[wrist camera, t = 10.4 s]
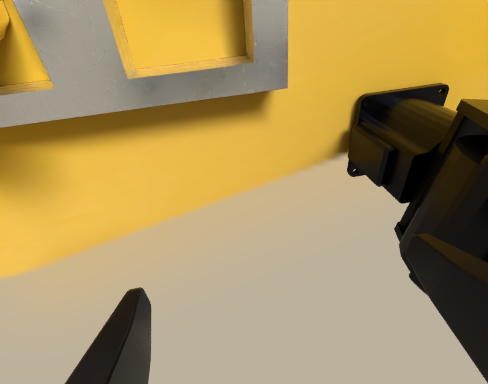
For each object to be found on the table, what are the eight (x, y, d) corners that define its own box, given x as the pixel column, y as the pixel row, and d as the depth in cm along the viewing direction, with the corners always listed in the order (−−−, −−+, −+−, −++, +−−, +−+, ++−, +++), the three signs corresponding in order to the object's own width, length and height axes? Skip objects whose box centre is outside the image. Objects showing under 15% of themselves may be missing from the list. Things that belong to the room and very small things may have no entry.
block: (271, -156, 12) (289, -190, 10) (275, 78, 17) (287, 88, 15) (-261, -125, 10) (-376, -157, 8) (-66, 123, 15) (-104, 142, 13)
